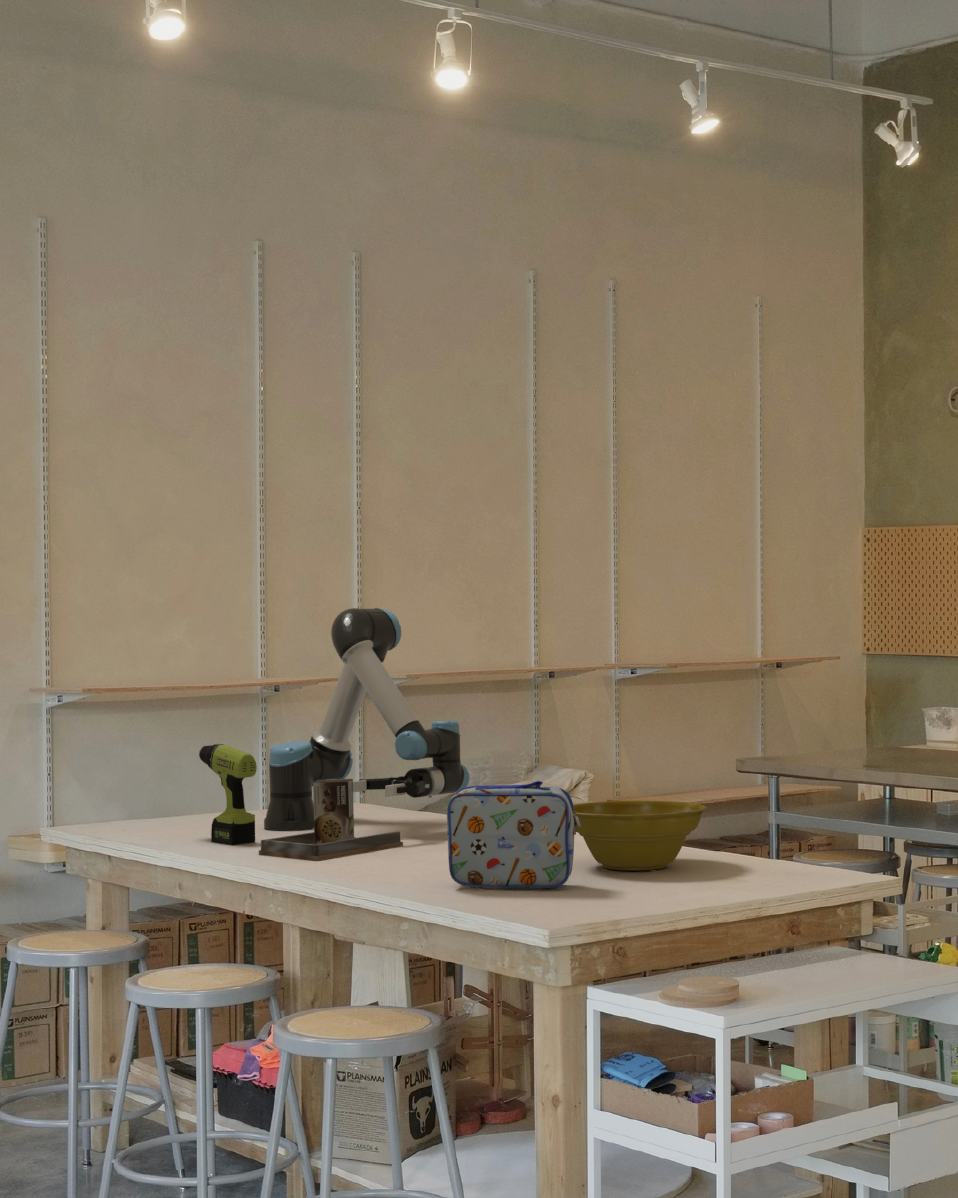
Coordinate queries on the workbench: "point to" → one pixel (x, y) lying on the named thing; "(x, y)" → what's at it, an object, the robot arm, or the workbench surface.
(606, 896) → the workbench surface
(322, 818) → the coffee box
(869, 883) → the workbench surface
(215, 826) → the cordless drill
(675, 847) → the planter bowl
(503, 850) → the lunch box
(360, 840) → the brown tray
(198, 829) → the workbench surface
